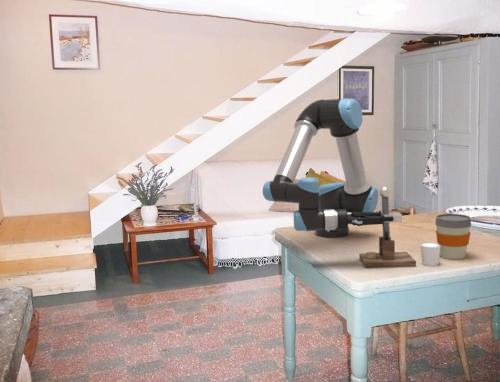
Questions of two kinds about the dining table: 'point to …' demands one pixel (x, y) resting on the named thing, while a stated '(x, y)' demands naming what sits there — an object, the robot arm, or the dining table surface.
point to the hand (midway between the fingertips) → (400, 217)
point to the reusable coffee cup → (453, 235)
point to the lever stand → (386, 256)
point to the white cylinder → (430, 254)
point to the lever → (385, 210)
